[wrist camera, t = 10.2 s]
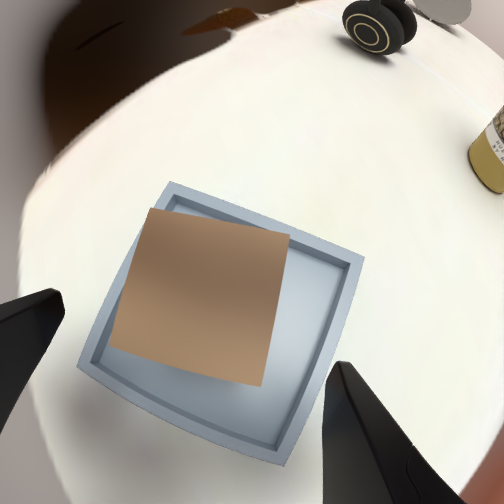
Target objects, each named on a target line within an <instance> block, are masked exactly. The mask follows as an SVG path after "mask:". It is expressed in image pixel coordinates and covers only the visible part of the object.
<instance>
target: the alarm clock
mask: <svg viewBox="0 0 504 504" xmlns="http://www.w3.org/2000/svg"><path fill="white" fill-rule="evenodd" d="M413 2H414V3H415V5H416V6H417V7H416V8H415V9H419V10H420V11H421V12H422V13H423V14H424V15H426V16H427V17H429V18H430V21H431V20H434V21H436V22H438V23H442V24H446V27H448V25H455V24H459V23H462V22H463V21H465V20H466V19H467V18H468V17H469V15H470V12H471V0H413Z"/></svg>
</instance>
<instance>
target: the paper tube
mask: <svg viewBox="0 0 504 504" xmlns="http://www.w3.org/2000/svg"><path fill="white" fill-rule="evenodd" d="M469 157H470V161H471V164H472V166H473V168H474V170H475V172H476V173H477V175H478V176H479V178H480V179H481V180H482V182H483V183H484V184H485V185H486V186H487V187H489V188H490V189H491V190H493V191H495V192H498V193H503V192H504V106H503V107H502V108H501V109H500V111H499V112H498V113H497V114H496V116H495V117H494V118H493V119H492V121H491V122H490V123H489V124H488V125H487V127H486V128H485V129H484V131H483V132H482V133H481V134H480V135H479V136H478V138H477V139H476V140H475V141H474V142H473V143H472V145H471V146H470V149H469Z"/></svg>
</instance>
